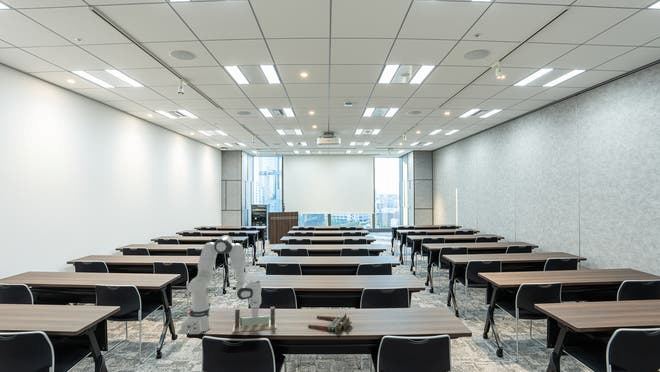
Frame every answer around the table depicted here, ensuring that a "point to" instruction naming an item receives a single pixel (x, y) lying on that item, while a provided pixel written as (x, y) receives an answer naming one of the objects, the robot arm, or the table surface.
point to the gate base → (254, 327)
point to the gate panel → (254, 321)
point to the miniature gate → (333, 323)
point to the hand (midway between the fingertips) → (255, 319)
